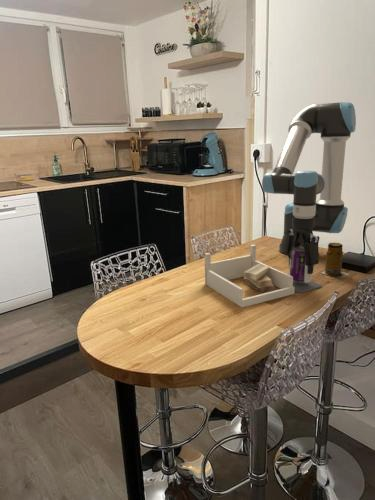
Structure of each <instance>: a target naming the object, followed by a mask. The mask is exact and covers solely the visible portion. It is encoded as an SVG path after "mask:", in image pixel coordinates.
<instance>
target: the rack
mask: <svg viewBox="0 0 375 500" xmlns="http://www.w3.org/2000/svg"><path fill="white" fill-rule="evenodd" d="M256 253H257V246H256V244H250V246H249V254H247V255H243V256H242V255H241V256H238V257H233V258H228V259H227V258H226V259H224V260H223V259H222V260H217V261H212V259H211V258H212V256H211V253H210V252H206V253H204V284H205V285H206V286H208V287H209V288H211V289H212V290H214V291H215V292H217V293H218V294H220V295H221V296H223V297H225V298H226V299H228V300H230V301H231V302H232V303H234V304H236V305H237V306H238V307H240V308H247V307H249V306H253V305H257V304H260V303H264V302H265V303H266V302H268V301H272V300H277V299H279V298H283V297H288V296H291V295H294V294H295V291H294V289H295V287H293V276H290V275H289V273H285V272H283V271H282V270H279V269H276V268H274V267H272V266H270V273H268V274H267V275H266V276H267V277H268V278H270V279H271V280H272V285H274V287H275V288H279V289H276V290H275V289H274V290H273V291H269V292H265V293H260V294H256V295H252V296H248V297H245V298H244V296H243V295H244V294H243V293H244V291H243V290H244V288H242V287H240V286H238V285H237V284H236V283H234V282H232V281H230V280H235V279H238V278H241V277H243V278H244V272H245V271H247V270H249V269H251V268H252V267H254V266H256V265H258V264H260V265H265V266H269V265H267V264H265V263H262V262H261V261H259V260H257V259H256Z"/></svg>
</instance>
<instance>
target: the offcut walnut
mask: <svg viewBox="0 0 375 500" xmlns="http://www.w3.org/2000/svg"><path fill="white" fill-rule="evenodd" d="M242 282H243V283H244V284H246V285H247V286H249V287H251V288H253V289H255V290H257V291H258V292H259V293H261V294H264V293H268V292H272V291H275V286H274V285H272V286H270V287H263V288H258V287H257V286H255V285H254V284H253V283H252V282H251V281H250V280H249V279H245V278H244V277H243V281H242Z"/></svg>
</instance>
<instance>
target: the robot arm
mask: <svg viewBox="0 0 375 500" xmlns="http://www.w3.org/2000/svg"><path fill="white" fill-rule="evenodd" d="M356 115H357V114H356V109H355V106H354V104H353V103H352V102H349V101H348V102H342V101H341V102H331V103H329V102H328V103H315V104H311V105H309V106H306V107H305V108H303V109H301V110H300V111H299V112H298V113H297V114H296V115H295V116H294V118H292V119H291V122H290V124H289V126H288V128H287V130H288V135H287V137H286V139H285V142H284V144H283V147H282V149H281V152H280V154H279V155H278V156H279V157H278V159H277V161H276V162H275V163H276V164H275V166H274V168H273V170H272V172H267V173H265V174H264V175H263V177H262V181H261V185H262V186H261V187H262V190H263V192H265V193H267V194H273V195H277V194H280V195H293V202H289V203H287V204H286V205H285V206H284V212H283V215H284V218H283V219H284V220H283V235H282V238H281V242H280V243H279V246H278V252H279V253H282V254H284V255H285V256H287V257H288V267H289V268H288V270H289V271H288V272H289V273H288V275H290V265H291V252H292V250H293V247H298V246H303V247H304V251H305V255H306V261H307V264H305V274H304V282H305V283H306V282H310V281H312V276H313V275H312V274H314V265H315V266H316V265H319V263H320V260H319V259H320V258H319V256H320V255H319V252H320V251H319V242H320V235H314V233H313V232H317V233H326V234H340V233H341V232H342V231H343V229H344V227H345V224H346V220H347V217H348V212H349V211H348V210H349V209H348V207H346V206H345V202H344V200H343V199H342V190H343V180H344V179H343V178H344V168H345V167H344V165H345V159H346V158H345V157H346V155H345V154H346V145H347V141H348V140H349V139H350V138H351V134H352V133H354V132H355V131H356V125H357V122H356V121H357V119H356V118H357V117H356ZM312 134H320V139H321V140H322V141H323V152H322V164H321V165H322V166H321V174H320V173H318V172H317V171H316V170H300V171H299V170H298V171H296V172H295V169H296V168H297V164H298V163H299V159H300V157H301V155H302V152H303V149H304V146H305V145H306V141H307V140H308V139H309V138H310V137H311V135H312ZM317 195H319V198H318V200H317ZM310 261H311V262H310Z"/></svg>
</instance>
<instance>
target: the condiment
mask: <svg viewBox="0 0 375 500" xmlns="http://www.w3.org/2000/svg"><path fill="white" fill-rule="evenodd" d="M343 247H344V246H343V244H342V243H339V242H329V243H328V244H327V250H326V252H325V253H326V255H325V266H324V271H321V272H320V274H323V275H325V276H330V277H334V278H337V279H342V278H344V277H347V276H349V275H350V273H348V272H344V271H342V266H343V257H344V252H343Z"/></svg>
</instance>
